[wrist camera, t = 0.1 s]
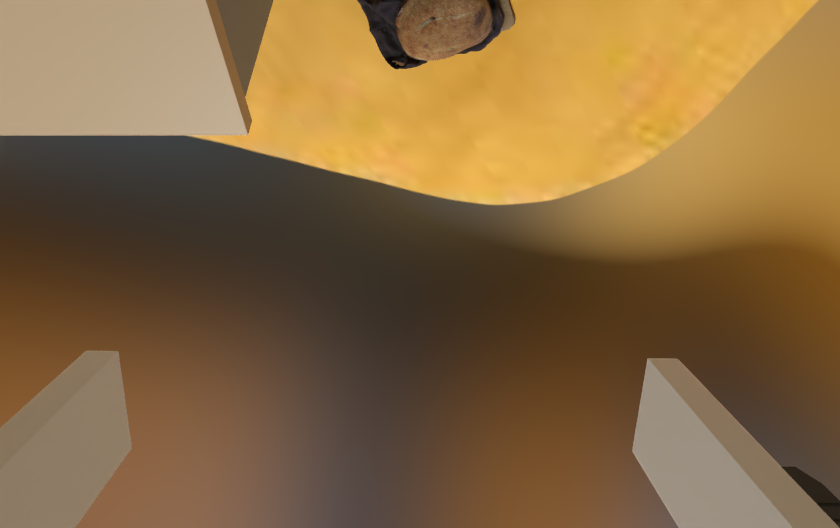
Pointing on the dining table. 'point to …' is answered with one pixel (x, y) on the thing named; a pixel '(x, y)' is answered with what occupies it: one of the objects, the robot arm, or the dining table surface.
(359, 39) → the dining table surface
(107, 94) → the cabinet
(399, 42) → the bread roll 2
